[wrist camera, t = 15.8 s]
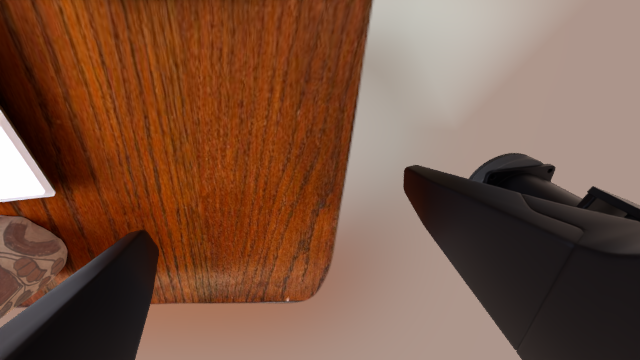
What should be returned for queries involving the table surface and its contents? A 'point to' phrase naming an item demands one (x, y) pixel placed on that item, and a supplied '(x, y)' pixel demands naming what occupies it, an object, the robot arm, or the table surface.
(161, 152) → the table surface
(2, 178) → the plate
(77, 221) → the table surface
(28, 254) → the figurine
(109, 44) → the table surface
